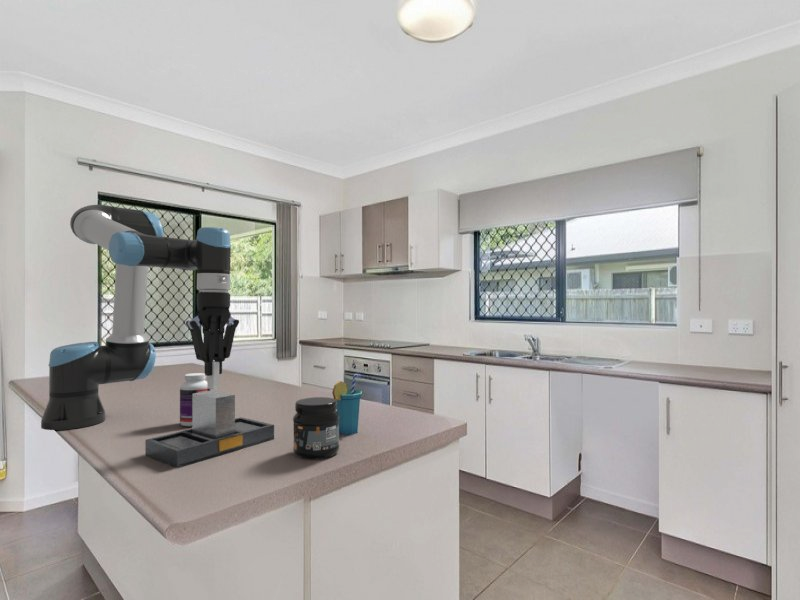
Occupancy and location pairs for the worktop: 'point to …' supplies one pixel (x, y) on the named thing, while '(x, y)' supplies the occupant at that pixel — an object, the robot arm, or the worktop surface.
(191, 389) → the pill bottle
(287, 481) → the worktop surface
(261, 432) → the rack
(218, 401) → the grey rectangular block
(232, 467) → the worktop surface
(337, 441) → the supplement container
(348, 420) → the cup
